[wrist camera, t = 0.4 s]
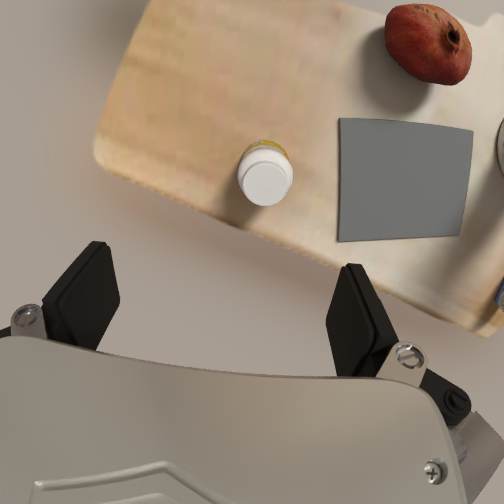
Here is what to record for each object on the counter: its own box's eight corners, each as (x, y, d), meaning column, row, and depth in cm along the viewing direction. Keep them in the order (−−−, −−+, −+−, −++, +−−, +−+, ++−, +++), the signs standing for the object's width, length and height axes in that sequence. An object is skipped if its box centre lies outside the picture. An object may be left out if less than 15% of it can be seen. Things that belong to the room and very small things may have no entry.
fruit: (356, 29, 24) (388, 9, 16) (409, -1, 21) (450, -20, 12) (408, 100, 28) (453, 107, 20) (456, 67, 25) (504, 68, 16)
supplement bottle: (279, 188, 35) (284, 221, 27) (236, 175, 35) (227, 204, 26) (294, 147, 33) (305, 167, 24) (249, 133, 32) (244, 147, 23)
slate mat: (471, 130, 29) (473, 131, 28) (457, 233, 37) (458, 235, 36) (339, 117, 30) (340, 118, 30) (338, 239, 38) (338, 241, 38)
